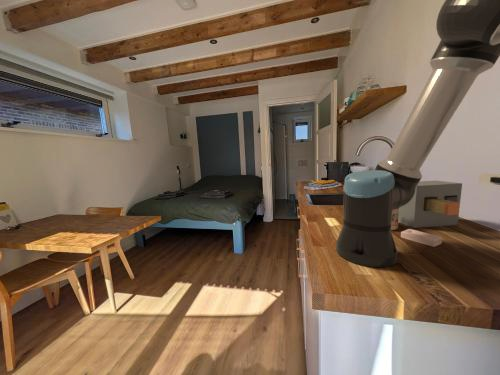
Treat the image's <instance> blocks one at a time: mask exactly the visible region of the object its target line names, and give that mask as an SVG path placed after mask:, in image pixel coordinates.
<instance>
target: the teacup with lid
mask: <svg viewBox="0 0 500 375" xmlns="http://www.w3.org/2000/svg"><path fill="white" fill-rule="evenodd" d="M398 217H399V208H396V209H394V210H392V220H391V231H395V230H397V229H399V222H398Z"/></svg>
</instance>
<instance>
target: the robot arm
mask: <svg viewBox="0 0 500 375" xmlns="http://www.w3.org/2000/svg"><path fill="white" fill-rule="evenodd" d="M435 28H436V32H437V36H438V37H439V38H440V41H439V43H438V45H437V47H436V49H435V51H434V53H433V55H432V57H431V59H430V61H429V65H430V66H431V69H432V72H431V74H430V75H429V78H428V79H427V81H426V83H425V85H424V87H423V89H422V91H421V93H420V94H419V97H418V99H417V100H416V102H415V104H414V106H413V108H412V110H411V112H410V113H409V115H408V117H407V119H406V121H405V123H404V124H403V126H402V129H401V131H400V133H399V134H398V136H397V138H396V140H395V142H394V144H393V146H392V148H391V149H390V151H389V153H388V155H387V157H386V158H385V159H383V160H380V161H378V162H377V165H376V166H375V169H373V170H371V169H369V170H362V171H354V172H351V173H349V174H347V175H346V176H345V177H344V184H343V186H342V187H343V189H342V190H343V206H342V207H343V209H342V210H343V211H342V213H343V214H342V216H343V218H342V227H341V230H340V232H339V234H338V236H337V237H338V238H337V239H336V243H335V251H336V253H337V254H338V255H339V256H340V257H341V258H343V259H345V260H347V261H349V262H351V263H354V264H355V265H356V264H357V265H360V266H365V267H372V268H385V267H391V266H393V265H395V264H397V262H398V249H397V247H396V244H395V243H396V242H395V240H394V236H393V234H392V230H391V220H392V210H394V209H396V208H400V207H402V206H404V205H406V204H407V203H408V202H410V200H411V199H412V198H413V196H414V194H415V190H416V186H417V185H418V183H419V181H422V180H421V179H422V178H423V175H422V173H421V170H420V169H421V167H422V166H423V165H424V163H425V161H426V160H427V157H429V155H430V153H431V151H432V150H433V148H434V147H435V145H436V144H437V142H438V140H439V139H440V137H441V135H442V134H443V132H444V130H445V129H446V128H447V126H448V124H449V122H450V121H451V120H452V118H453V116H454V114H455V112H457V109H458V108H459V106H460V105H461V103H462V102H463V100H464V98H465V96H466V95H467V94H468V92H469V91H470V89H471V87H472V85H473V84H474V82H475V80H476V79H477V77H478V76H479V75H480V74H482V73H485V72H486V71H489V70H490V69H493V67H494V66H495V64H496V62H497V61H498V59H499V58H500V0H445V1H444V3H443V4H442V5H441V7H440V10H439V12H438V14H437V18H436V27H435ZM478 184H484V185H485V184H487V185H498V186H500V174H498V173H479V175H478Z"/></svg>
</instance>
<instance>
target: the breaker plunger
mask: <svg viewBox="0 0 500 375" xmlns="http://www.w3.org/2000/svg"><path fill="white" fill-rule="evenodd" d="M459 206H460V207H461V202H460V203H459V202H454V201H448V200H443V199H438V198H433V197H424V209H426V210H430V211H434V212H438V213H441V214H445V215H457V214H459V215H460V208H459Z"/></svg>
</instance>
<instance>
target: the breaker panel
mask: <svg viewBox="0 0 500 375" xmlns="http://www.w3.org/2000/svg"><path fill="white" fill-rule="evenodd" d="M462 190H463V183H462V182H461V183H460V182H453V181H443V180H420V181H419V183H418V185H417V186H416V190H415V194H414V196H413V198H412V199H411V200H410V202H408V203H407V204H406V205H404V206H402V207H400V208H399V217H398V223H400V224H403V225H405V226H407V227H410V228H413V229H414V228H415V229H417V228H431V227H443V226H458V225H459V216H460V213H459V214H457V215H445V214H441V213H438V212H434V211H430V210H426V209H424V197H433V198H438V199H443V200H448V201H454V202H459V203H460V204H461V198H462ZM460 208H461V205H460V206H459V209H460ZM457 224H458V225H457Z"/></svg>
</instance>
